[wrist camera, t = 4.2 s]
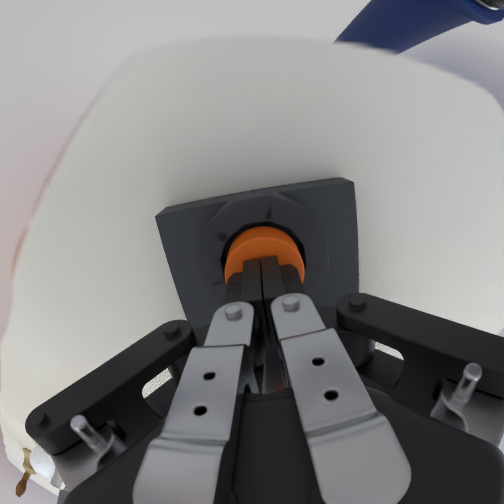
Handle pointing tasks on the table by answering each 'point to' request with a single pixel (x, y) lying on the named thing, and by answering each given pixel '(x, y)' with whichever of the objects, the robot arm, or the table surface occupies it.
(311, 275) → the push button base
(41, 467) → the geometric ball
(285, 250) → the switch
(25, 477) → the hand bell
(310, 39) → the table surface
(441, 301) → the table surface
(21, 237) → the table surface
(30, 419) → the robot arm
